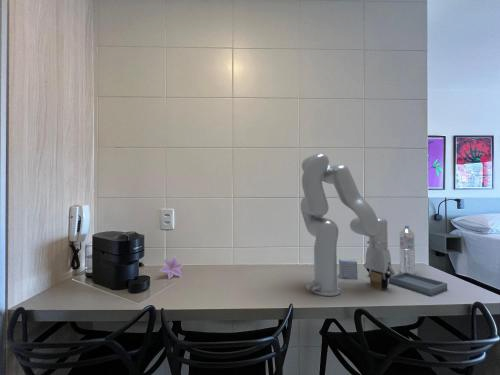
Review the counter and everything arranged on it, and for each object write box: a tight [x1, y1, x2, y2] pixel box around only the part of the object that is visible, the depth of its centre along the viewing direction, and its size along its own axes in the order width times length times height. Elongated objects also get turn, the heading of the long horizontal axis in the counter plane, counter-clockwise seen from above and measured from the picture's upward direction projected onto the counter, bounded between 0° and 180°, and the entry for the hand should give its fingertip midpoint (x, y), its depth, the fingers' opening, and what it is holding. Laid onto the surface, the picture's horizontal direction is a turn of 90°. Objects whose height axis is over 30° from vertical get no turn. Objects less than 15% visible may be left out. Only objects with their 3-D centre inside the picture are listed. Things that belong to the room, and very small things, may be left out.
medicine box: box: [338, 258, 358, 280], centre depth 129 cm, size 8×4×9 cm, turn 84°
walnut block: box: [369, 270, 388, 291], centre depth 115 cm, size 5×5×7 cm
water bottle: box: [399, 225, 416, 275], centre depth 135 cm, size 7×7×25 cm
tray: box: [388, 272, 448, 297], centre depth 116 cm, size 14×18×3 cm
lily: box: [159, 254, 184, 280], centre depth 131 cm, size 12×12×10 cm
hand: (378, 285), depth 115 cm, fingers closed on walnut block, 5 cm apart
